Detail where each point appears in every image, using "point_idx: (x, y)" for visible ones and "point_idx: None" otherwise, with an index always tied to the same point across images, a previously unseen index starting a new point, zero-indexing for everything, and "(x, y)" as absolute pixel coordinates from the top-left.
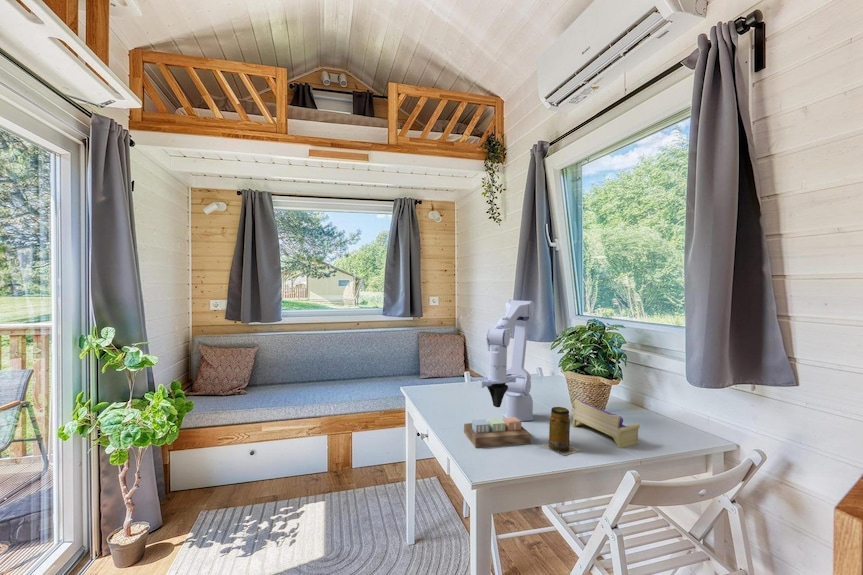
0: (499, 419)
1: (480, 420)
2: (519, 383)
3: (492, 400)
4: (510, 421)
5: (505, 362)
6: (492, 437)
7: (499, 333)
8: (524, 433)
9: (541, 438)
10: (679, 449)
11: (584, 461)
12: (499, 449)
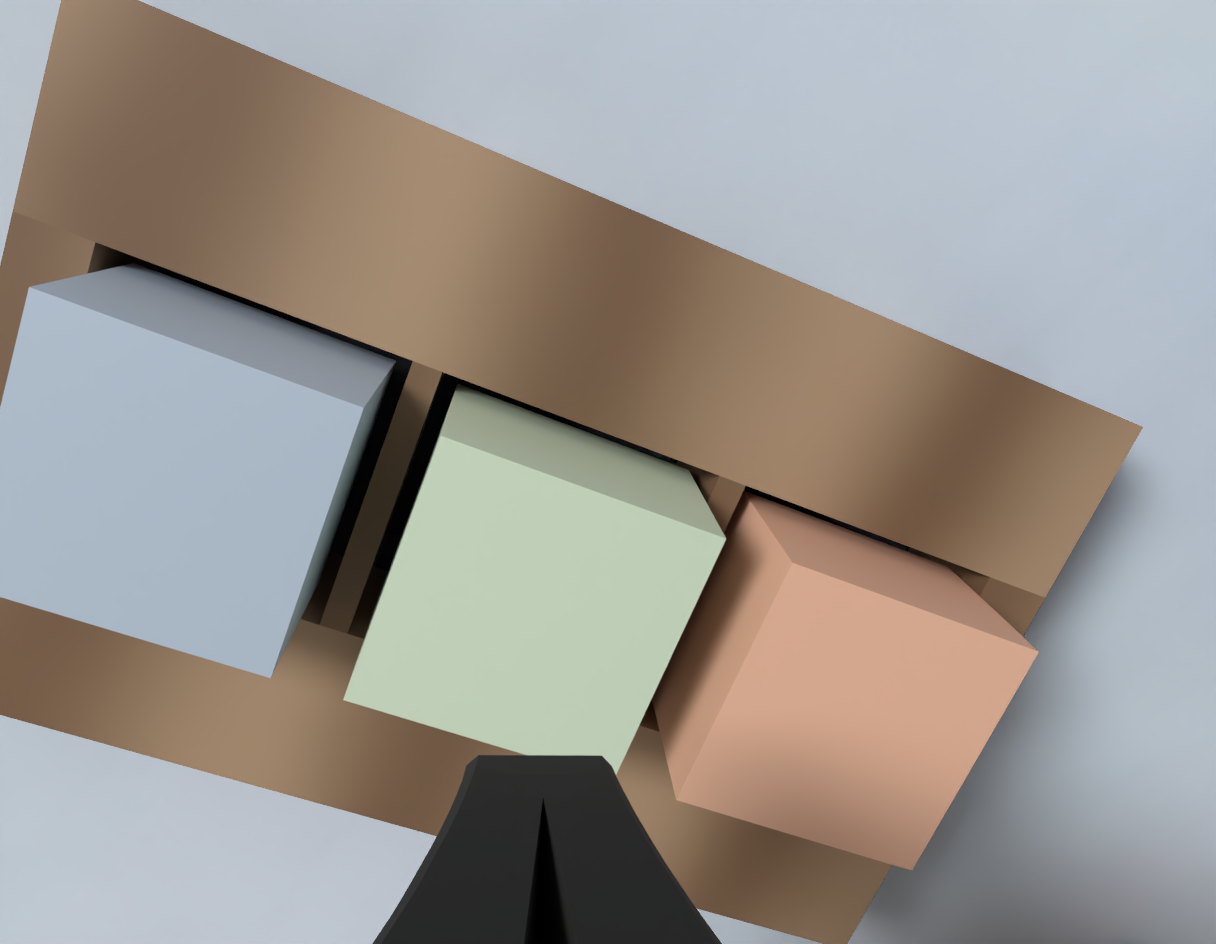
0: (656, 583)
1: (223, 409)
2: None
3: (431, 857)
4: (766, 763)
5: None
6: (230, 767)
7: None
8: (780, 901)
9: (1048, 815)
10: None
11: None
12: (298, 800)
